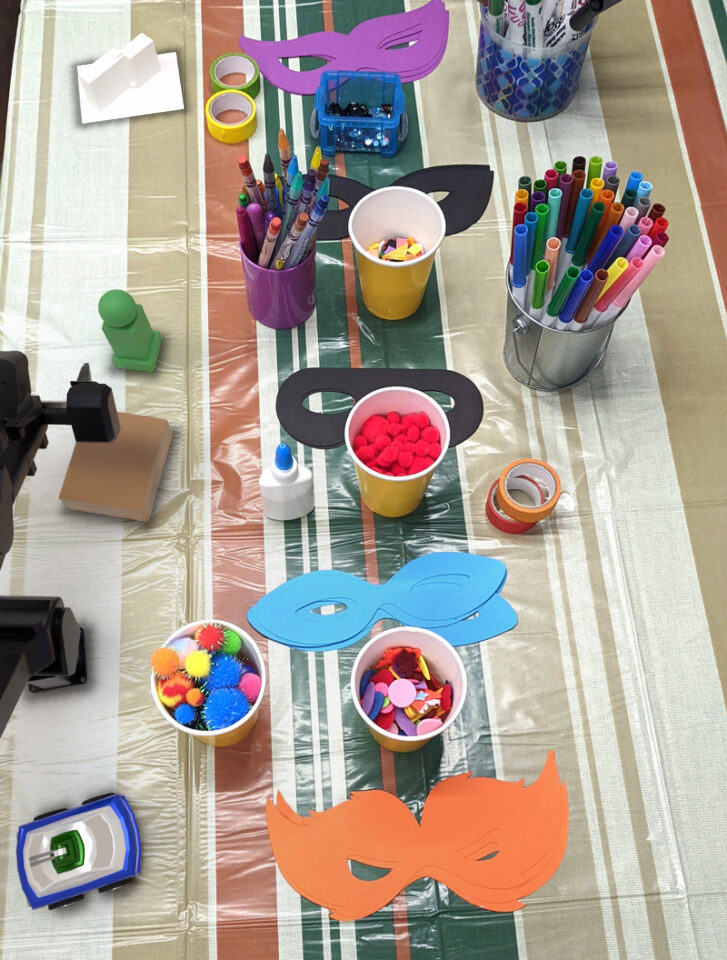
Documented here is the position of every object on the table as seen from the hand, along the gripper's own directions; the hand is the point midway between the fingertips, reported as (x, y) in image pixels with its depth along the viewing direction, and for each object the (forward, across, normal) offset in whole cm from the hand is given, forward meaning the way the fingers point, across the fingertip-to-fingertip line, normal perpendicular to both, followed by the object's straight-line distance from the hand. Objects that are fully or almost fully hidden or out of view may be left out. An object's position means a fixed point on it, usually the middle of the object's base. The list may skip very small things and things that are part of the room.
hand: (45, 365), depth 95 cm
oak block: (+3, -5, +17) cm, 18 cm away
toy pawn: (+17, -5, +10) cm, 21 cm away
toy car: (-36, -6, +37) cm, 52 cm away
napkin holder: (+57, +1, -10) cm, 58 cm away
